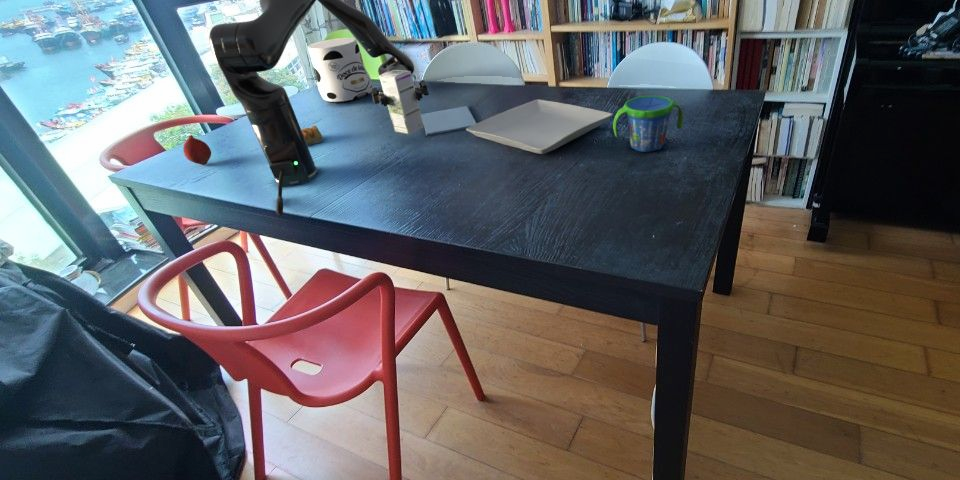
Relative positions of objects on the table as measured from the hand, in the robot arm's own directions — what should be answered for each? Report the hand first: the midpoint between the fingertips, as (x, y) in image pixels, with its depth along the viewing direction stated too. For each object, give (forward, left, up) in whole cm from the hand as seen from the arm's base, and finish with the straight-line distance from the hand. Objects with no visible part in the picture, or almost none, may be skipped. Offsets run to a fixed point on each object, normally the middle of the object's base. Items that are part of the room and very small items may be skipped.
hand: (401, 99), depth 118 cm
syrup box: (+2, 0, -9) cm, 9 cm away
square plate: (-10, -32, -12) cm, 36 cm away
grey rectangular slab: (+13, -11, -11) cm, 21 cm away
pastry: (+16, +28, -12) cm, 34 cm away
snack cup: (-30, -52, -12) cm, 61 cm away
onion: (+13, +54, -12) cm, 57 cm away
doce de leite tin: (+54, +18, -12) cm, 58 cm away
